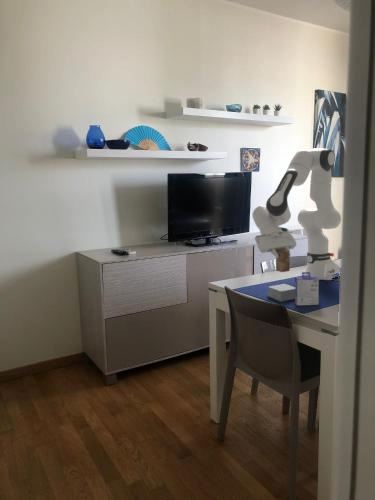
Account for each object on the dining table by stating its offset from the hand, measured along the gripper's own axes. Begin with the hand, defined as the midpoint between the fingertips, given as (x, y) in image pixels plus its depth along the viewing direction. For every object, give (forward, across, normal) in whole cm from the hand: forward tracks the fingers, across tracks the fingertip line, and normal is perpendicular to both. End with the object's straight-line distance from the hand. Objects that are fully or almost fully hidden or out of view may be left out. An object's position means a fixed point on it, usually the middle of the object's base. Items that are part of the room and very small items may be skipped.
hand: (283, 256), depth 195 cm
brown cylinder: (+4, 0, +5) cm, 7 cm away
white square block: (+14, 0, +15) cm, 20 cm away
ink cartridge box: (+23, +3, +6) cm, 24 cm away
